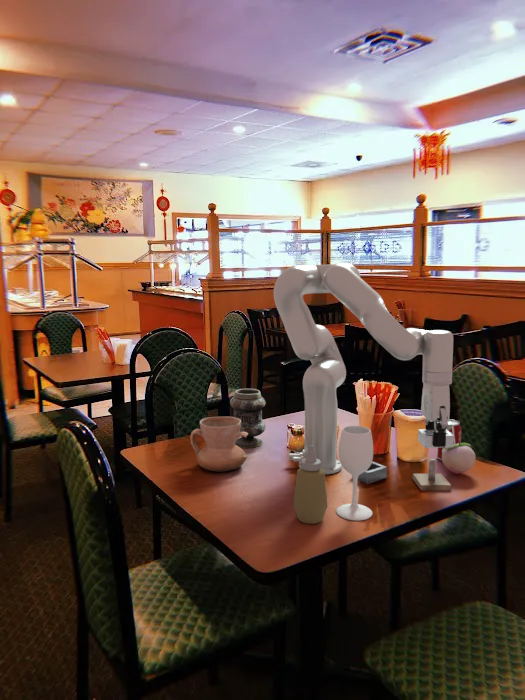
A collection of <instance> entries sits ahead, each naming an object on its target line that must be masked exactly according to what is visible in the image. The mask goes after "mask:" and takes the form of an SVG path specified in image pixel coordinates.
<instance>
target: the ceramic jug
mask: <svg viewBox="0 0 525 700" xmlns="http://www.w3.org/2000/svg"><path fill="white" fill-rule="evenodd" d="M199 427H200V428H195V429H194V430H192V431H191V433H190V438H189V439H190V443H191V447H192V448H193V450H194V452H195V456H196V462H197V464H198V465H199V466H200V467H201V468H203V469H204V470H206V471H207V470H208V471H211V472H215V473H216V472H217V473H218V472H219V473H220V472H229V471H233V470H236V469H238V468H239V467H241V466H242V465H244V463H246V460H248V459H247V458H248V457H247V455H246V452H245V451H244V449H242V448H241V447H238V446H237V445H235V442H236V440H237V439H238V438H241V436H244V437H246V436H247V435H248V433H247V432H240V428H241V420H240V419H239V418H235V417H233V416H211V417H204V418H202V419H200V420H199ZM196 435H199V436H201V437H202V438H203V439H204V442H205V444H206V446H204V447H203V448H201V450H200V449H199V447H198V445H197V442H196Z"/></svg>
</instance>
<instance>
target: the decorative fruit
mask: <svg viewBox="0 0 525 700" xmlns="http://www.w3.org/2000/svg"><path fill="white" fill-rule="evenodd" d="M472 448H473V446H472V445H471V444H470V443H467V442H461V443H460V441H459V444H453V447H446V448H445V449H444V451H443V453H442V460H443V461H442V463H443V465H444V466H445V467H446V468H447V469H448V471H450V472H452V473H454V474H455V475H459V474H461V473H464V472H468V471H469V470H471V469H472V468H473V467H474V465H475V463H476V453H475V452H474V450H473V449H472Z"/></svg>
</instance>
